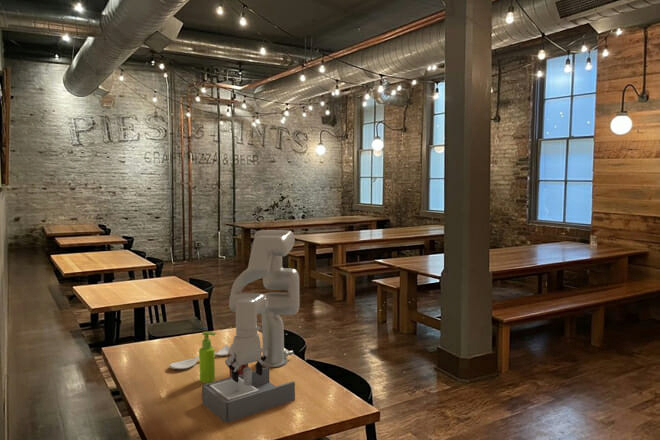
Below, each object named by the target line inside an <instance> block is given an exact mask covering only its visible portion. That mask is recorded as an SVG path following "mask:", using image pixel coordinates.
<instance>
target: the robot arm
mask: <svg viewBox="0 0 660 440" xmlns="http://www.w3.org/2000/svg"><path fill="white" fill-rule="evenodd" d="M251 246H252V247H251V250H250V251H251V252H250V256H249V261H248V266H247V268H246V269H245V270H243V272H241V273H240V274H239V276H237V277H236V279H235V280H234V282H233V284H232V286H231V291H230V294H229V295H230V296H229V300H228V303H229V304H228V305H229V309H230V311H231V312H233V313H235V336H233V340H232V341H233V342H232V344H233V347H232V355H231V356H230V357H229V358H228V357H227V358H226V359H225V360H224V362H225V364H226V366H227V368H228V369H229V368H230V369H231V370H232V379H233V380H234V381H235V382H238V381H239V376H238V371H237V370H238V368H239V366H240V365H245V364H248V365H249V364H252V363H255V362H256V363H255V370H256V373H257V374H258V375H260V376H261V375H262V368H263V367H264V368H266V367H269V368H279V367H282V366H285V365H287V363H288V361H289V359H288V358H287V357H288V356H291V355H294V350H287V349H285V334H284V333H285V331H284V328H285V325H284V320H283V318H282V317H281V316H284V315H285V316H289V315H290V316H294V315H297V314H298V312H299V311H300V275H299V272H298V270H297V269H295V268H291V267H289V268H287V267H285V268H284V266H283V257H285V256H287V255H288V254H289V253H290V252H291V251H292V250H293V247H294V246H295V235H294V232H292V230H287V229H286V230H285V229H284V230H281V229H278V230H277V229H260V230H258V231H256V232H255V233H254V236H253V242H252V245H251ZM259 279H262V283H263V287H264V289H267V290H273V291H274V290H275V291H276V290H277V291H287V292H272V291H271V292H265V293H258V292H242V291H243V289H244V288H245V287H246V286H247V285H249V284H251V283H253V282H255V281H257V280H259ZM260 314H261V315H260ZM258 315H260V316H261V327H260V325H259V326H258ZM261 328H262V329H261ZM260 330H262V331H261V332H262V333H261V337H262V338H260V335H259V333H258V331H260ZM261 341H262V345H261ZM261 346H262V347H261ZM231 361H232V362H234V363H233V365H231Z"/></svg>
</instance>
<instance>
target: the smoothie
mask: <svg viewBox="0 0 660 440" xmlns="http://www.w3.org/2000/svg"><path fill="white" fill-rule="evenodd" d="M229 347H230V348H229V350H228V355H227V358H229V357H230V356H231V355H232V347H233V343H232V344H231V345H230V346H229ZM233 363H234V362H232V361H231V365H233ZM244 368H249V363H248V364H245V365H240V366H239V368H238V370H237V371H238V375H241V374H243V369H244ZM228 369H229V370H228V371H229V378H230V377H232V370H231V369H230V368H229V367H228Z"/></svg>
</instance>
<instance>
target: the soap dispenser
mask: <svg viewBox="0 0 660 440" xmlns="http://www.w3.org/2000/svg"><path fill="white" fill-rule="evenodd" d="M201 335H203V338H204V339H202V340H201V345H202V347H200V348H199V350H198V351H199V352H198V353H199V358H200V359H199V381H200V383H203V384H208V383H212V382H215V380H216V373H215V369H216V368H215V366H216V365H215V363H216V362H215V355H214V353H215V347H213V346H212V341H211V339H210V337H209V336H213V337H214V336H216V335H217V333H216V332H213V331H203V332H202V333H201Z"/></svg>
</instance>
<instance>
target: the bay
mask: <svg viewBox="0 0 660 440" xmlns="http://www.w3.org/2000/svg"><path fill="white" fill-rule="evenodd" d="M238 376H239V377H240V378H241V379H243V374H241V375H238ZM230 379H232V377H230V376H229V377H227V378H224V379H220V380H216V381H215V380H214V381H213V382H210V383H203V384H201V394H202V395H201V402H202V405H204V407H206V408H207V409H208V410H209V411H211V412H212V413H213V414H214V415H215V416H217V417H218V418H219V419H220V420H221V421H223V422H224V423H225V424H228V423H229V424H230V423H233V422H235V421H238V420H241V419H243V418H247V417H249V416H253V415H255V414H256V415H257V414H258V413H262V412H264V411H267V410H271V409H273V408H276V407H279V406H283V405H285V404H288V403H291V402H294V401H296V382H295V380H294V381H293V380H292V381H290V382H286V383H283V384H279V385H277V386H276V385H275V384H273V383H272V382H270V367H264V368H263V367H262V375H261V376H260V375H258V374H257V373H256V369H255V370H252V384H251V385H252V386H254V387H255V388H257V389H258V390H259V392H257V393H253V394H250V395H247V396H244V397H240V398H237V399H234V400H231V401H226V400H224V399H223V398H222V397H220V396H219V395H218V394H216V393H215V392H214V391H212V390H211V389H210V388H209V385H212V384H216V383H219V382H223V381H226V380H230Z"/></svg>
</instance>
